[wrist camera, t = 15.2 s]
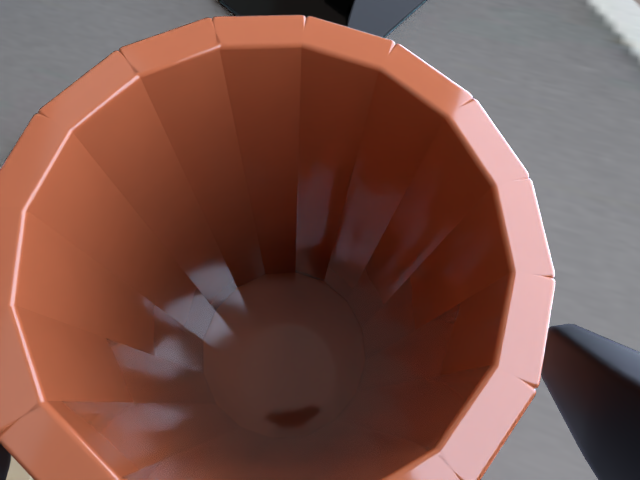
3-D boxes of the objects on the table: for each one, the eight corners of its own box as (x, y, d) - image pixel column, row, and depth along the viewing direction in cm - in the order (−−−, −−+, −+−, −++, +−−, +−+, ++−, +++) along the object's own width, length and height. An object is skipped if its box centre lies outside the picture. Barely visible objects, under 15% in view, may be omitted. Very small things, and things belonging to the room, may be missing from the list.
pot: (293, 497, 16) (297, 768, 4) (152, 363, 17) (-168, 266, 5) (411, 343, 18) (653, 218, 6) (278, 231, 19) (254, -61, 7)
